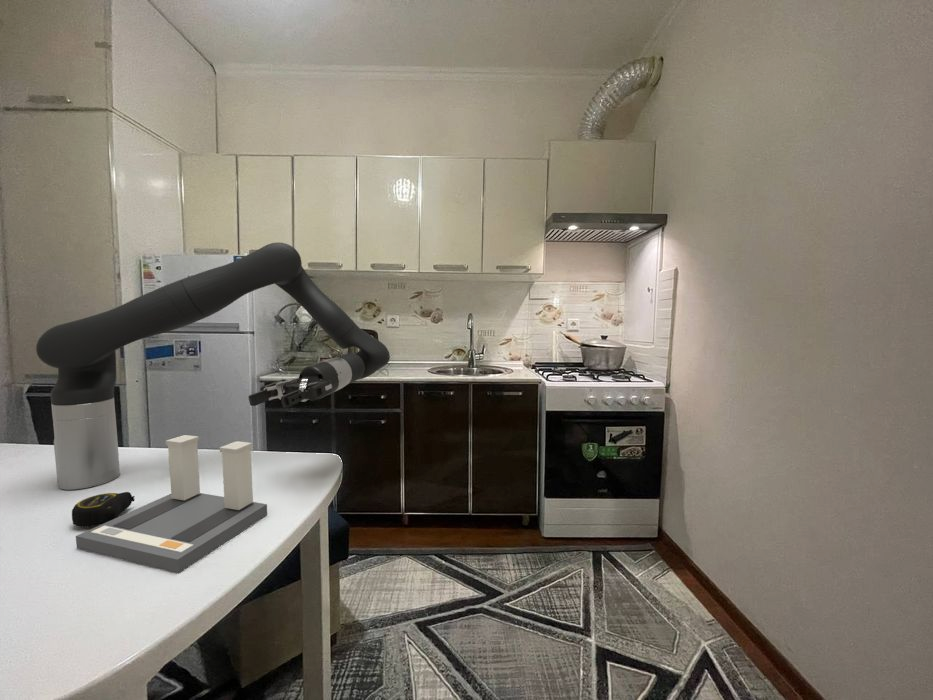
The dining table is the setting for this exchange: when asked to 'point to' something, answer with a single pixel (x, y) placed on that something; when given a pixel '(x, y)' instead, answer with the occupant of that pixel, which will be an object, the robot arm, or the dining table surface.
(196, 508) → the switch board
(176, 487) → the switch tab
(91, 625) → the dining table surface
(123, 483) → the dining table surface
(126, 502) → the tape measure
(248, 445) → the switch tab
